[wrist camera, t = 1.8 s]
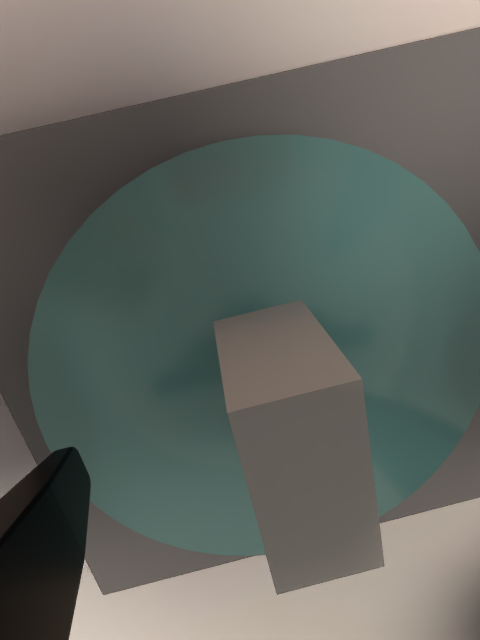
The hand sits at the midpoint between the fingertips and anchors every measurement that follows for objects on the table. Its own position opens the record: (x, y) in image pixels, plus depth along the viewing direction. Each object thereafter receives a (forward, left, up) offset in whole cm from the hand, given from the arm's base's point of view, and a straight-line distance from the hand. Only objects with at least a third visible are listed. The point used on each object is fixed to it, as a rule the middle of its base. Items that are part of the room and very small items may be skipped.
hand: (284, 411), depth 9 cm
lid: (0, 0, -2) cm, 2 cm away
